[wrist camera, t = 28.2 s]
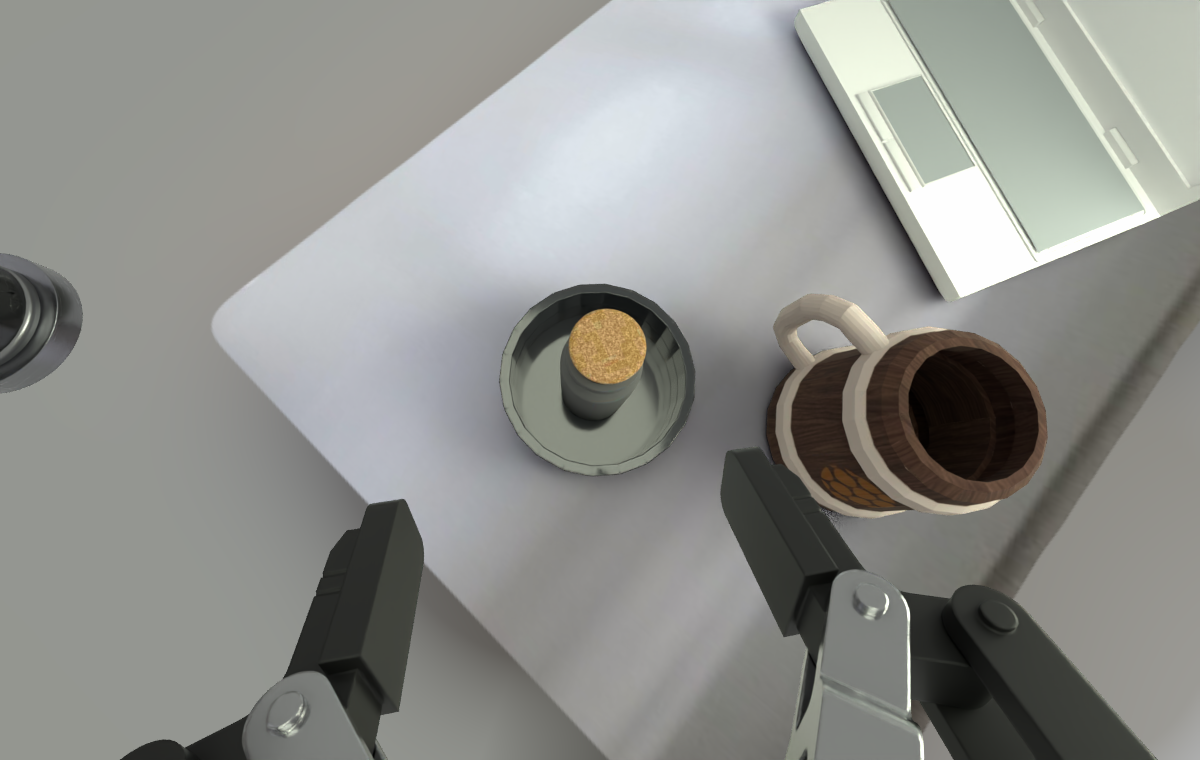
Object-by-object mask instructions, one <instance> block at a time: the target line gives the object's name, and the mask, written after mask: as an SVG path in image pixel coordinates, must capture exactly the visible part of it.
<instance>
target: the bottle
mask: <svg viewBox="0 0 1200 760" xmlns="http://www.w3.org/2000/svg"><path fill="white" fill-rule="evenodd" d="M645 355H646V340H645V336H644V333H643V331H642V329H641V327H640V326H639V324H638V323H637V322H636V321H635V320H634V319H633V318H632V317H630V316H629V315H627V314H626V313H624V312H621V311H618V310H614V309H599V310H595V311H592V312H590V313H588V314H586V315H585V316H583V317H582V318H581V319H580V320H579V321H578V322H577V323H576V324H575V326H574V328H573V329H572V331H571V334H570V336H569V338H568V340H567V342H566V344H565V345H564V348H563V350H562V354H561V359H560V377H561V392H562V397H563V400H564V402H565V404H566V406H567V407H568V408H569V410H570V411H571V412H572V413H574V414H575V415H577V416H578V417H580V418H583V419H586V420H601V419H604V418H607V417H609V416H611V415H612V414H613V413H615V412H616V411H617V410H618V409H619V408H620V406H621V405H622V404H623V403H624V402H625V401H626V399H627V398H628V397H629V396H630V394H631V393H632V392H633V391H634V389H635V388H636V386H637V384H638V382H639V380H640V378H641V375H642V370H643V363H644V358H645Z"/></svg>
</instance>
